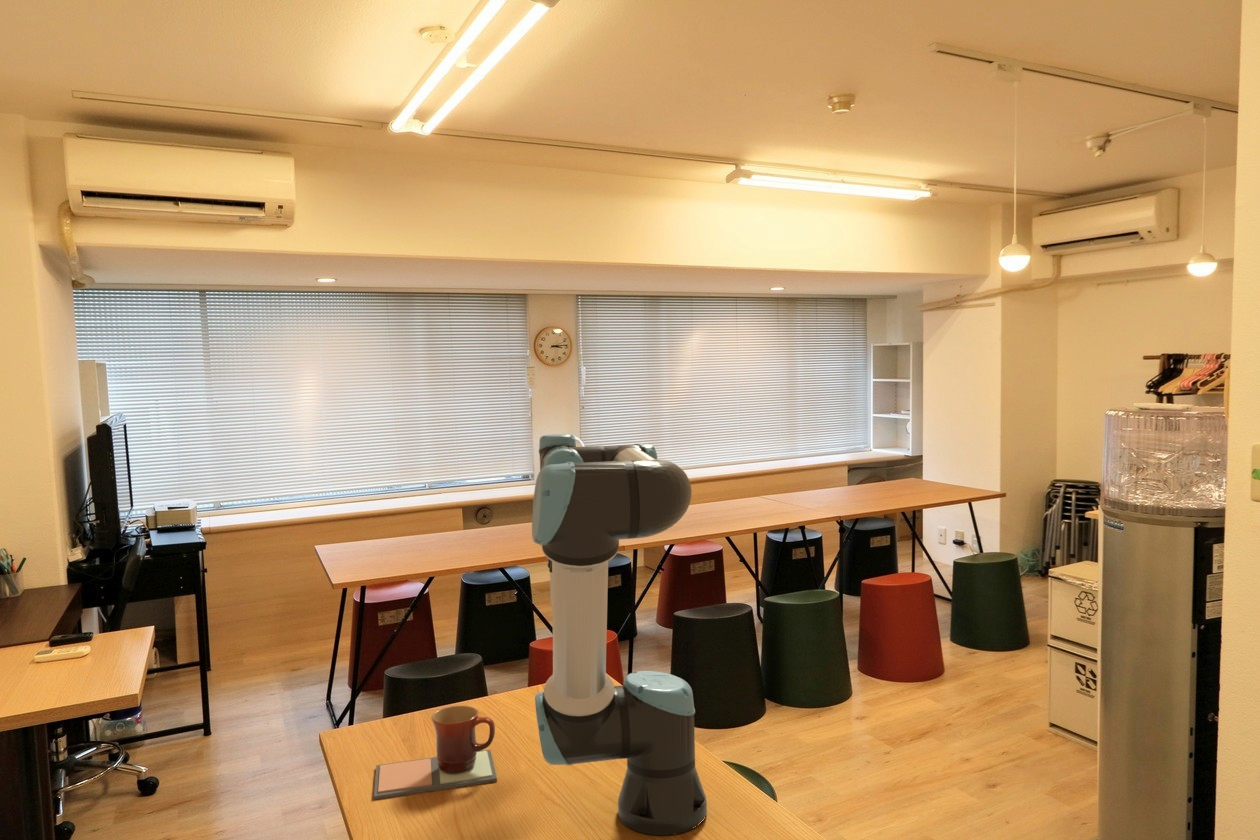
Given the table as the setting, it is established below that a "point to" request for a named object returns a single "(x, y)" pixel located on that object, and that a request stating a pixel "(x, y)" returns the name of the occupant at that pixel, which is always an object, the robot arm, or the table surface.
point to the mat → (429, 776)
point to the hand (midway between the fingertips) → (563, 611)
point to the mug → (458, 737)
